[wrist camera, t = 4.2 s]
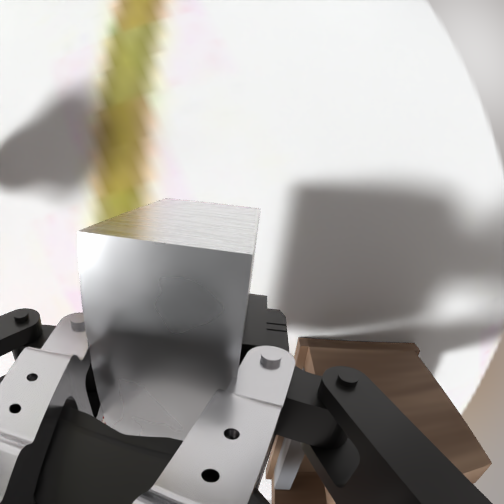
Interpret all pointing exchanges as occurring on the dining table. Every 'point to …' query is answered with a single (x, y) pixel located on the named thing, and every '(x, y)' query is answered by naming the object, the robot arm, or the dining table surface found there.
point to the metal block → (165, 309)
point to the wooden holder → (398, 391)
